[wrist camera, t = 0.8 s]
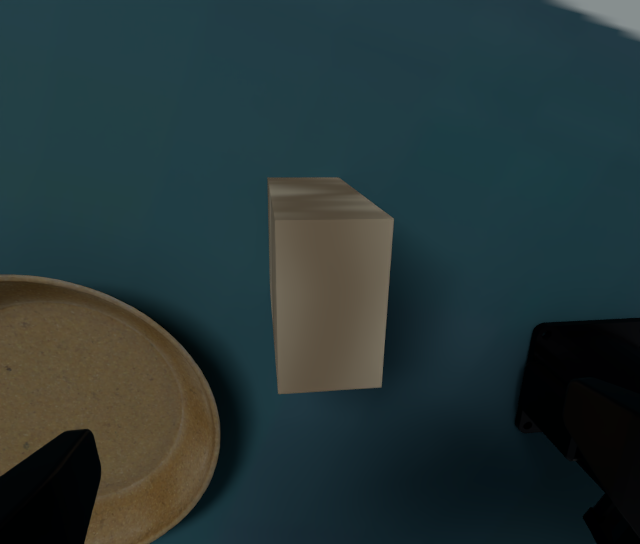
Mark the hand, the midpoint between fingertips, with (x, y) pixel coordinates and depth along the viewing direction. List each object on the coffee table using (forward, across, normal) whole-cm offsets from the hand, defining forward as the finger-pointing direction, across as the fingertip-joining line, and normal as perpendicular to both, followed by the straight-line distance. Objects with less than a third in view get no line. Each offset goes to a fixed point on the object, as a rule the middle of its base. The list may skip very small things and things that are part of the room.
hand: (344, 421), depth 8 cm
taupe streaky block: (+12, 0, 0) cm, 12 cm away
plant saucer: (+12, +11, +7) cm, 18 cm away
